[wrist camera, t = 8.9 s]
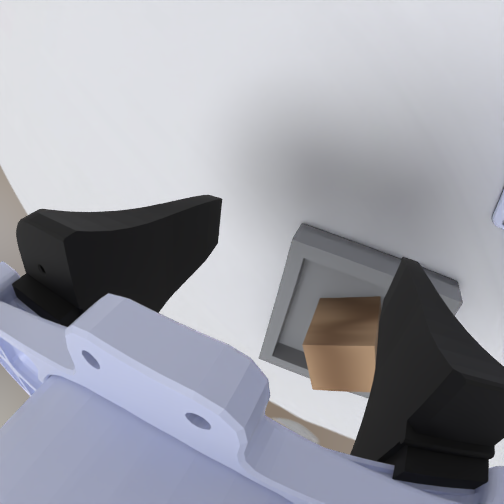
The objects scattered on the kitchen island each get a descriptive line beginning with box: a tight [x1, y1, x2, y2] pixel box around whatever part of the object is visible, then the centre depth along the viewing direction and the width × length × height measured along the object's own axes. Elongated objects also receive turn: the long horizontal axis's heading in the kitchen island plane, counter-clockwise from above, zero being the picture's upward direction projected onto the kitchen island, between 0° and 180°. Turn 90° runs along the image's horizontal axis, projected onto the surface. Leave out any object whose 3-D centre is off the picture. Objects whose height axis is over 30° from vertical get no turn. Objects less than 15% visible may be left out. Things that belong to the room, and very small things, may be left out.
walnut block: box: [302, 296, 381, 392], centre depth 21 cm, size 4×4×5 cm
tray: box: [259, 224, 463, 398], centre depth 23 cm, size 12×12×2 cm
